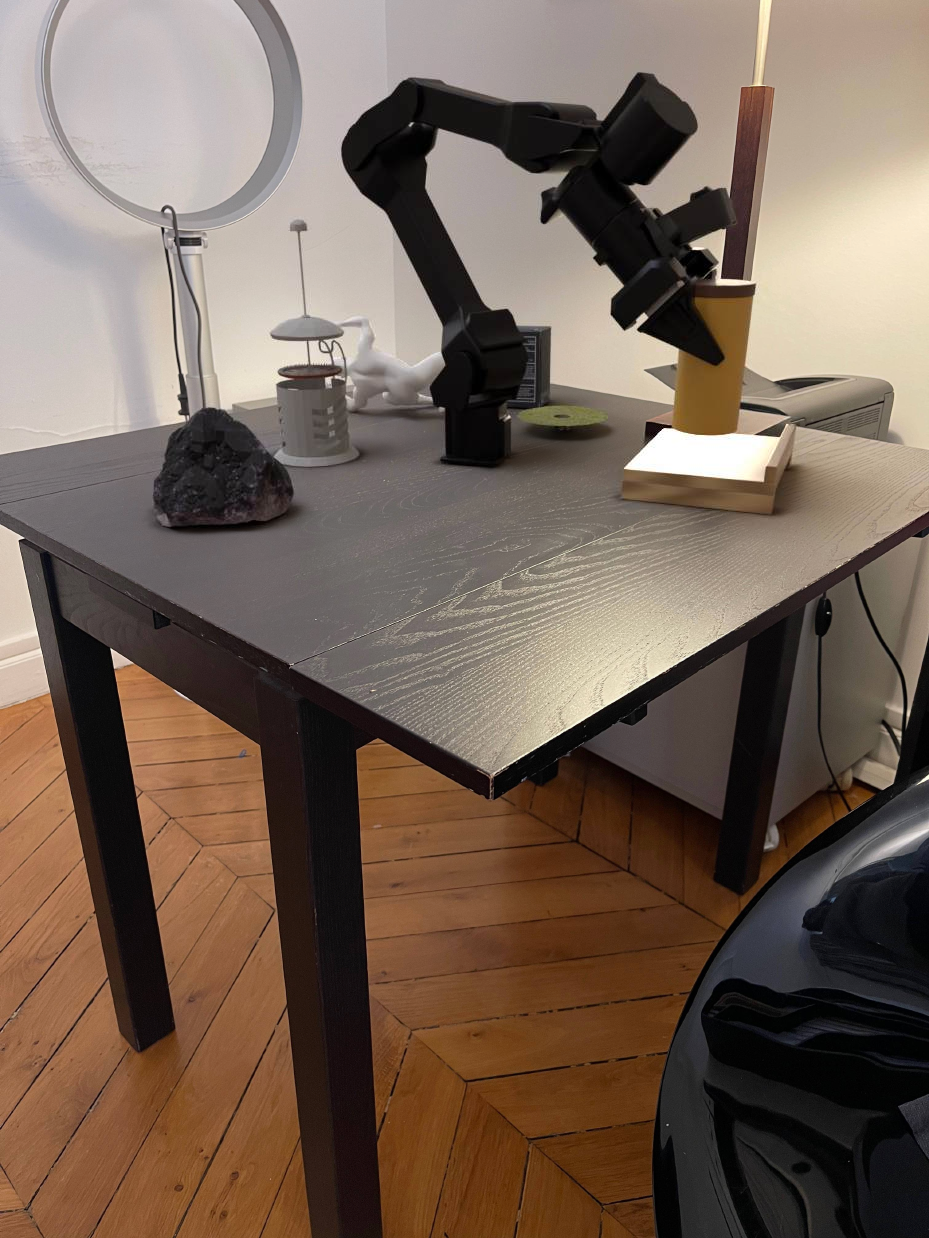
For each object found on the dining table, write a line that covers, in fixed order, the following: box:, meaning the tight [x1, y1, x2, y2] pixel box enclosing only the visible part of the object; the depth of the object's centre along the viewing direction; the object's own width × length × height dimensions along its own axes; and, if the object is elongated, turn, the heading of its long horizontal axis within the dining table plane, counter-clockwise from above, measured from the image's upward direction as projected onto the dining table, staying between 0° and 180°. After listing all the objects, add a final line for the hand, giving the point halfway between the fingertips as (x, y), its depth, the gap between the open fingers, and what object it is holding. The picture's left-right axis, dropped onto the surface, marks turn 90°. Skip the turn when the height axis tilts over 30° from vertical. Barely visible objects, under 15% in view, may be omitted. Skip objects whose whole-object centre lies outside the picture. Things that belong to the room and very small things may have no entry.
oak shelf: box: [620, 423, 797, 515], centre depth 94 cm, size 14×18×4 cm
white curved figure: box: [325, 315, 445, 414], centre depth 124 cm, size 13×13×18 cm
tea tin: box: [671, 278, 757, 436], centre depth 85 cm, size 6×6×13 cm
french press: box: [269, 218, 360, 468], centre depth 102 cm, size 10×12×25 cm
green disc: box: [516, 405, 609, 431], centre depth 116 cm, size 11×11×2 cm
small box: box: [506, 325, 552, 409], centre depth 130 cm, size 11×6×10 cm, turn 71°
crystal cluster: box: [152, 406, 295, 528], centre depth 87 cm, size 13×14×10 cm
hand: (727, 357), depth 84 cm, fingers closed on tea tin, 6 cm apart
